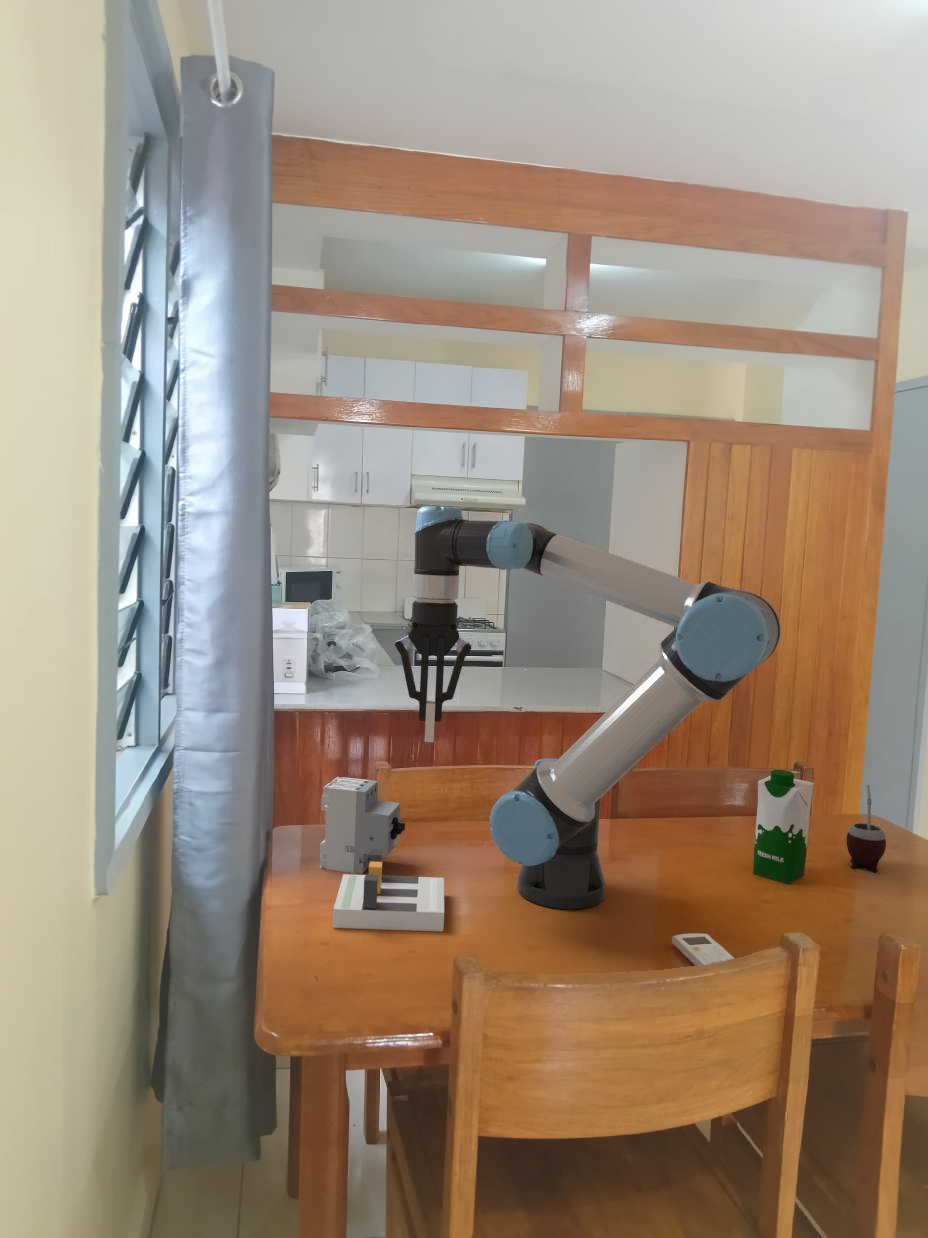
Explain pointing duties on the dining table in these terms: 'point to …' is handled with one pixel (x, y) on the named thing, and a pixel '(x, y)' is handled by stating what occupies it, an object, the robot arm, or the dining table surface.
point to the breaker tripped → (376, 872)
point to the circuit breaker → (356, 824)
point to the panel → (391, 904)
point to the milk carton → (782, 826)
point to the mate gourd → (866, 843)
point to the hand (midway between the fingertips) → (429, 740)
